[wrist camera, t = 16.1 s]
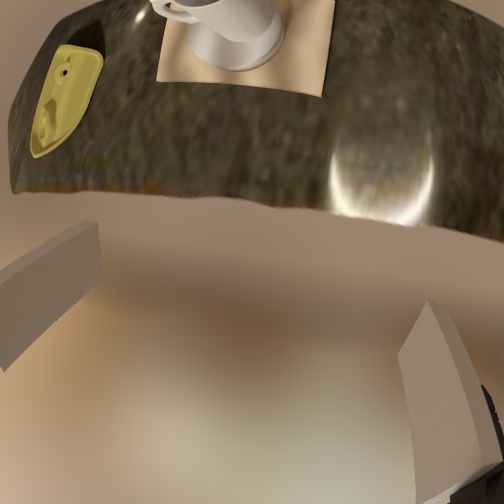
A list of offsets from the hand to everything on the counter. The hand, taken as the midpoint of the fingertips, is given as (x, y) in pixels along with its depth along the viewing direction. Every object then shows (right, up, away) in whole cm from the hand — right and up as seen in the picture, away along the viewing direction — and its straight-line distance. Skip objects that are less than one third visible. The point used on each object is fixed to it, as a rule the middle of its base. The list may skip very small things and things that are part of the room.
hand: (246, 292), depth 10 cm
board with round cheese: (-1, +29, +19) cm, 35 cm away
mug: (-2, +27, +14) cm, 31 cm away
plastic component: (-32, +29, +27) cm, 51 cm away
